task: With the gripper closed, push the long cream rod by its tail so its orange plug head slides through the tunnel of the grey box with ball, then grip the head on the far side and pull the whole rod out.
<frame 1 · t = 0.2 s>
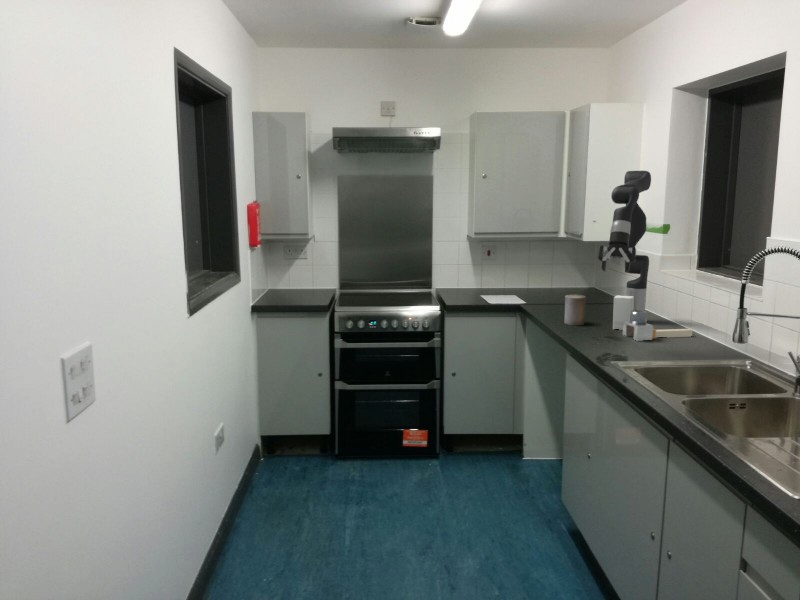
hand: (614, 271, 242), 31 cm above the counter, tool tilted 20°, fingers open, 8 cm apart
pillar candle: (574, 324, 292), on the counter
skincare box: (622, 329, 280), on the counter
grey box with ball: (636, 337, 263), on the counter
plug rod: (666, 336, 265), on the counter
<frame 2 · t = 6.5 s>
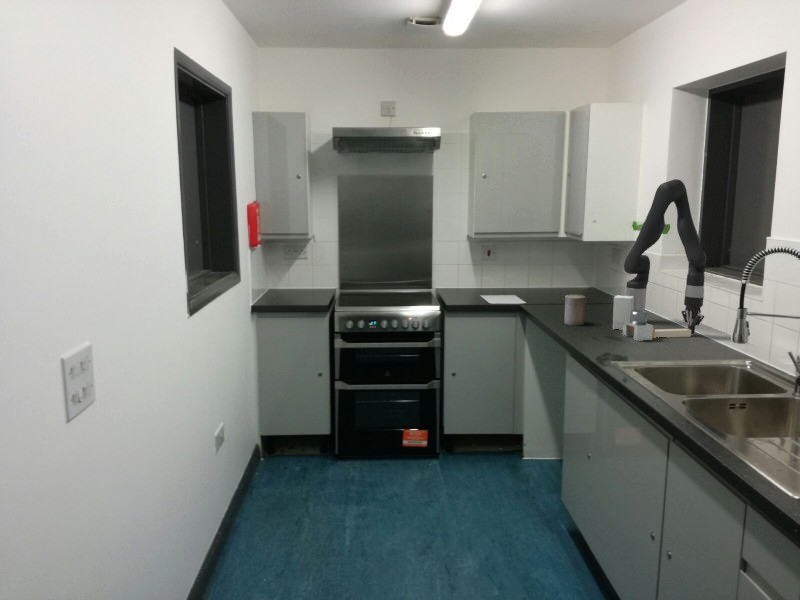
hand: (691, 333, 267), 1 cm above the counter, tool pointing down, fingers closed
plug rod: (665, 336, 265), on the counter, touching gripper
everything else where it was.
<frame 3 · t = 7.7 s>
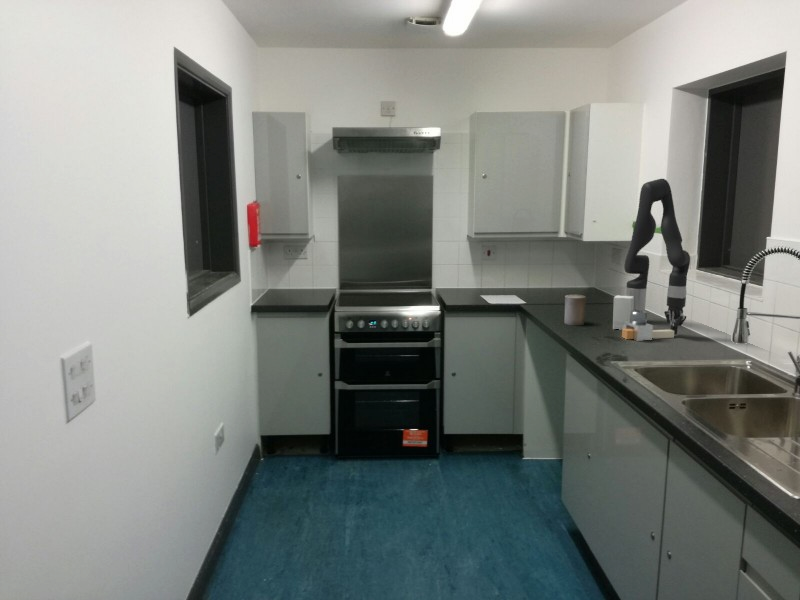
hand: (673, 334, 265), 1 cm above the counter, tool pointing down, fingers closed
plug rod: (648, 337, 263), on the counter, touching gripper
everything else where it was.
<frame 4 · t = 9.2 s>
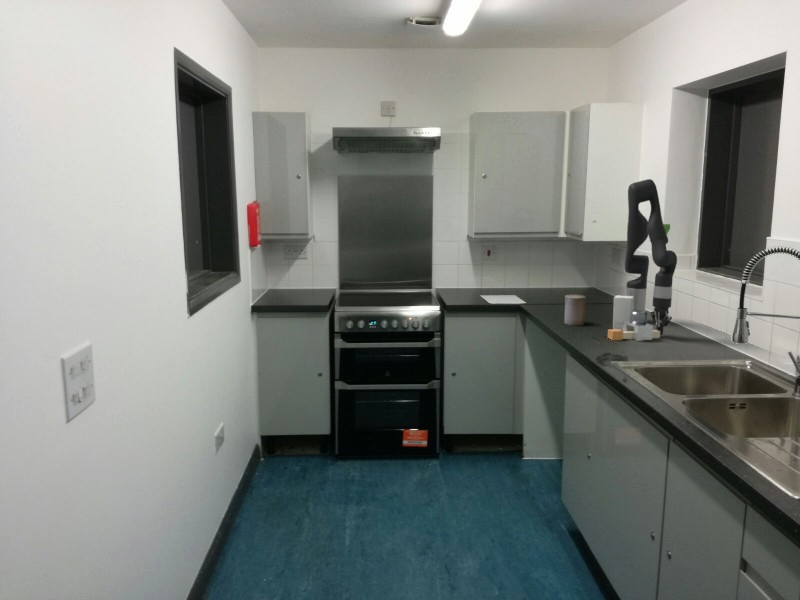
hand: (659, 334, 264), 1 cm above the counter, tool pointing down, fingers closed
plug rod: (633, 338, 262), on the counter, touching gripper
everything else where it was.
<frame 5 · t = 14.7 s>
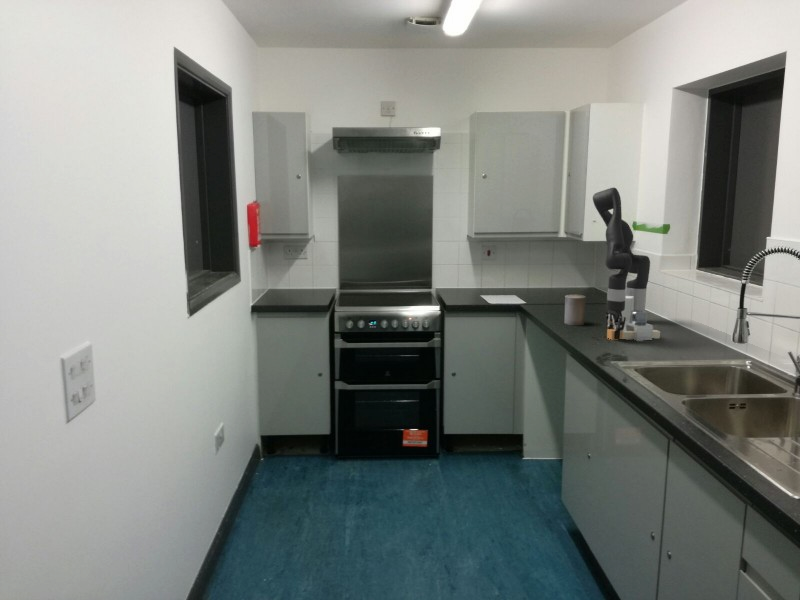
hand: (613, 337, 261), 1 cm above the counter, tool pointing down, fingers open, 5 cm apart
nothing on the counter moved.
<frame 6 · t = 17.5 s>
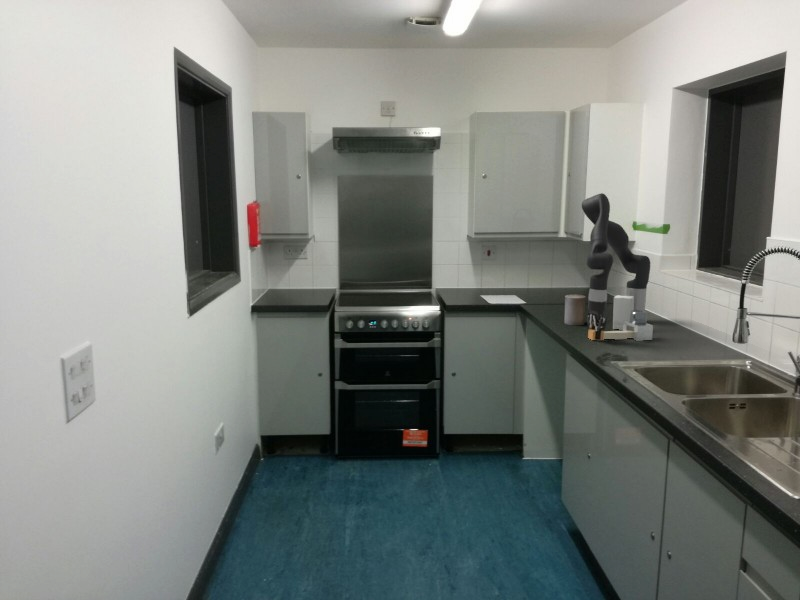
hand: (595, 338, 260), 1 cm above the counter, tool pointing down, fingers closed on plug rod, 4 cm apart
plug rod: (614, 338, 261), on the counter, touching gripper
everything else where it was.
when the fingers open (1 cm above the counter, at t = 19.8 s): plug rod stays where it is, on the counter.
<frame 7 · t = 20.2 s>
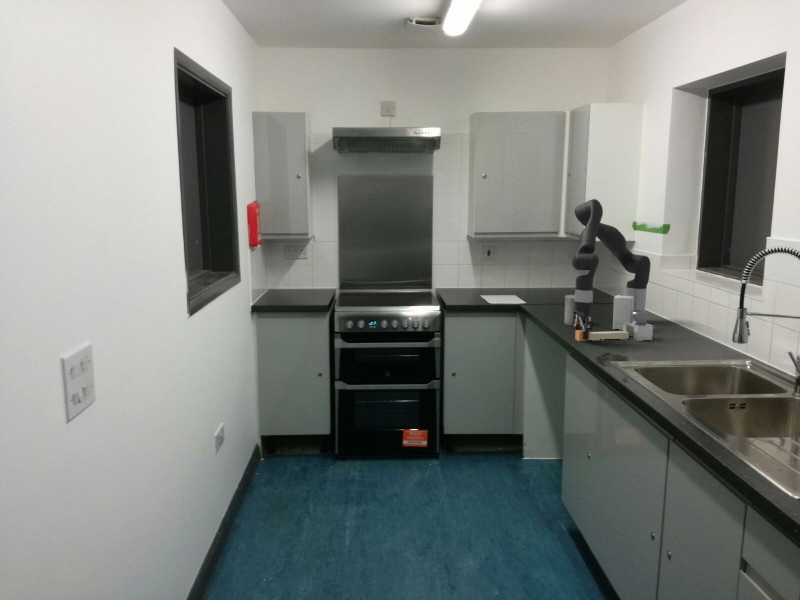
hand: (581, 337, 259), 1 cm above the counter, tool pointing down, fingers open, 7 cm apart
plug rod: (602, 339, 260), on the counter
everything else where it was.
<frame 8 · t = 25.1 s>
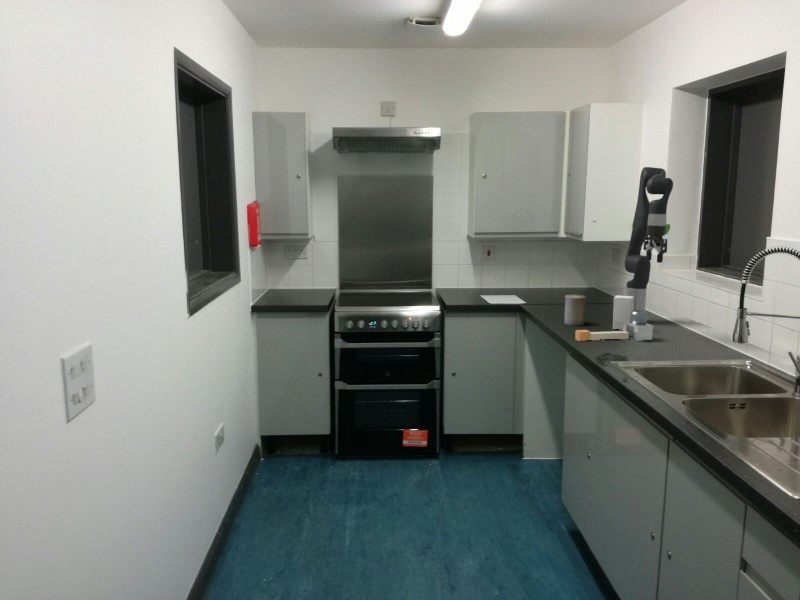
hand: (653, 261, 263), 33 cm above the counter, tool pointing down, fingers open, 8 cm apart
nothing on the counter moved.
at the end: plug rod inside the target area (3.5 cm from its centre), on the counter; the gripper is holding nothing; skincare box moved 0.2 cm from its start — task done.
